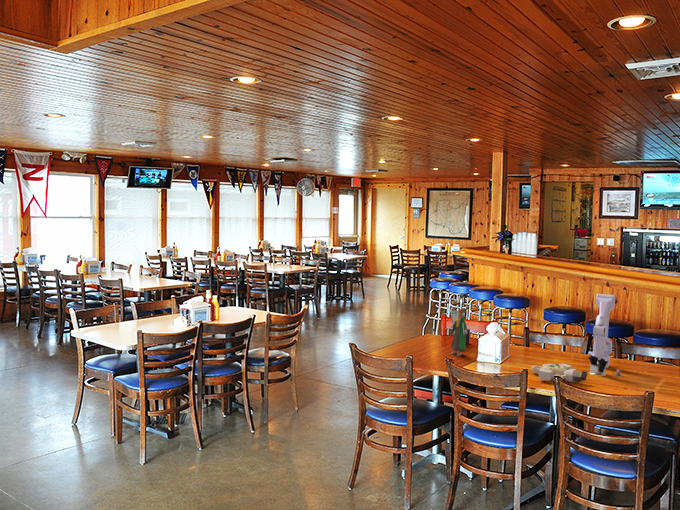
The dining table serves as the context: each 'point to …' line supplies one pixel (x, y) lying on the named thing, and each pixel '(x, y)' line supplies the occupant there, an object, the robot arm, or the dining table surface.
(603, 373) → the hub
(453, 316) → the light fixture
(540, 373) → the toy
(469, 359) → the dining table surface
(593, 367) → the collar
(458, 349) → the figurine
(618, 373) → the stand
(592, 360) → the robot arm
